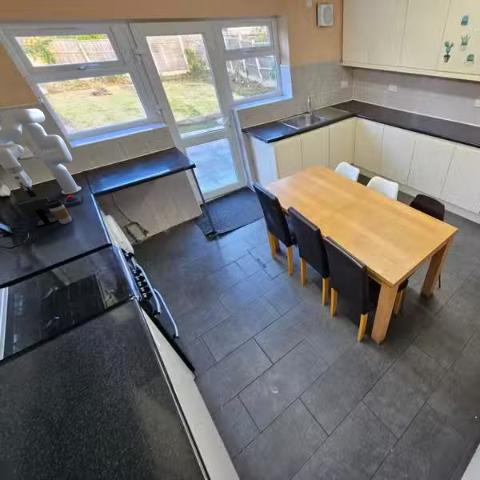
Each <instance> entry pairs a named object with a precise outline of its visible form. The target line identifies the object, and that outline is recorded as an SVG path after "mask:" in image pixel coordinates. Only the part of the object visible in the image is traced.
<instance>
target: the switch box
mask: <svg viewBox="0 0 480 480" xmlns="http://www.w3.org/2000/svg"><path fill="white" fill-rule="evenodd" d="M73 196H74V198H72V199H68V198H67V197H65V199H64V202H63V205H64V206H65V208H69V207H72V206H76V205H80V204H82V196H81V195H76V194H75V195H73Z"/></svg>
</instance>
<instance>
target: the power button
mask: <svg viewBox="0 0 480 480" xmlns="http://www.w3.org/2000/svg"><path fill="white" fill-rule="evenodd" d="M66 198H68V199H72V198H74V195H73V194H68V195H67V196H66Z"/></svg>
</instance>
